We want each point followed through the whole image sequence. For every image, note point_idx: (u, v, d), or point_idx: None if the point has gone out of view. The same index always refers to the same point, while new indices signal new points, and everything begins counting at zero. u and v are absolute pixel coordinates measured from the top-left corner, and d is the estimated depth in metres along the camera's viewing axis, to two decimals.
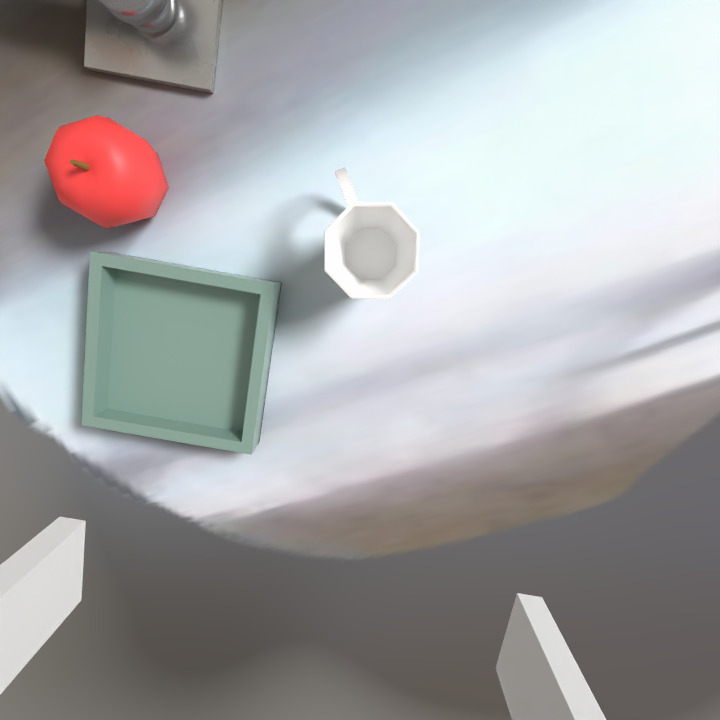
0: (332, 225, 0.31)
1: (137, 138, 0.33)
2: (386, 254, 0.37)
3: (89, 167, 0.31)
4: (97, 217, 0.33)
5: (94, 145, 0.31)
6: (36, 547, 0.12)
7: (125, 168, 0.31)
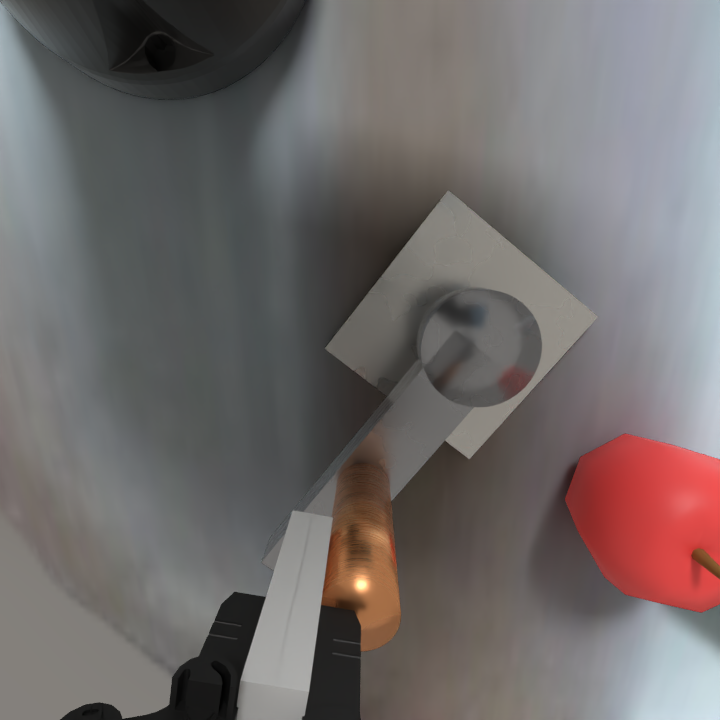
0: None
1: (673, 458, 0.20)
2: None
3: (705, 551, 0.19)
4: None
5: (691, 527, 0.19)
6: (295, 535, 0.14)
7: None
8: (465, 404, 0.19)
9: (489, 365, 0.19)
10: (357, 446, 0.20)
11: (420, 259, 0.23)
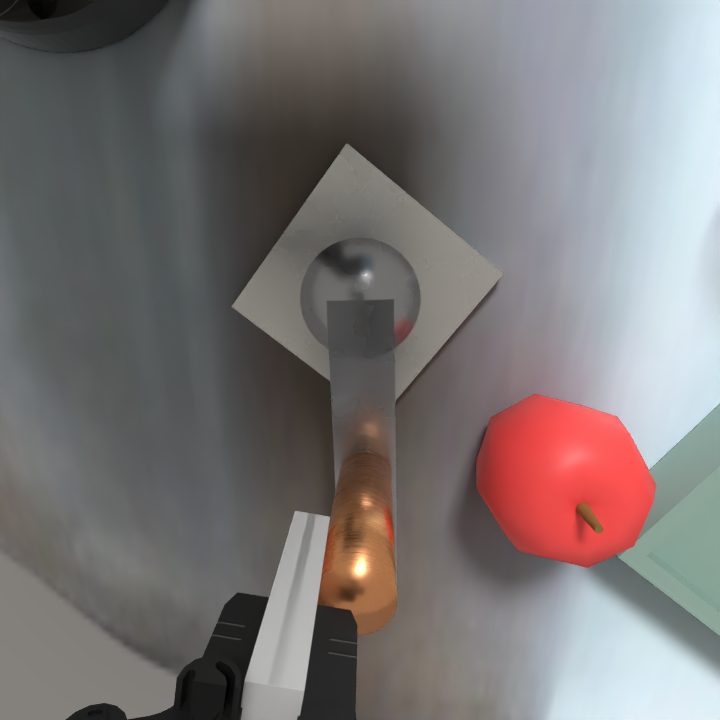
0: None
1: (563, 413, 0.20)
2: None
3: (588, 505, 0.19)
4: None
5: (572, 480, 0.19)
6: (298, 535, 0.14)
7: (624, 457, 0.19)
8: (385, 351, 0.19)
9: (376, 306, 0.19)
10: (333, 447, 0.20)
11: (321, 214, 0.22)
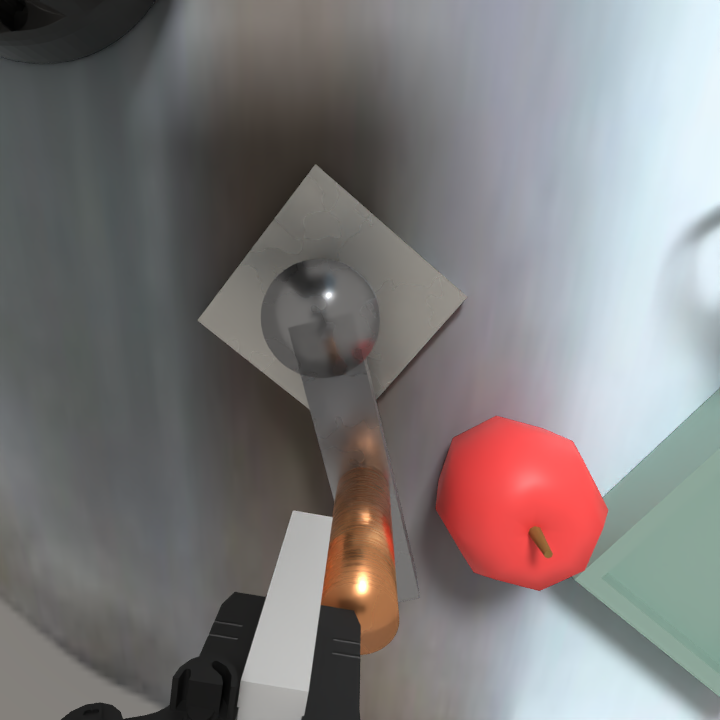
0: None
1: (519, 437, 0.20)
2: None
3: (541, 529, 0.19)
4: None
5: (524, 505, 0.19)
6: (295, 535, 0.14)
7: (576, 483, 0.19)
8: (356, 365, 0.19)
9: (337, 322, 0.19)
10: (326, 469, 0.20)
11: (289, 233, 0.23)
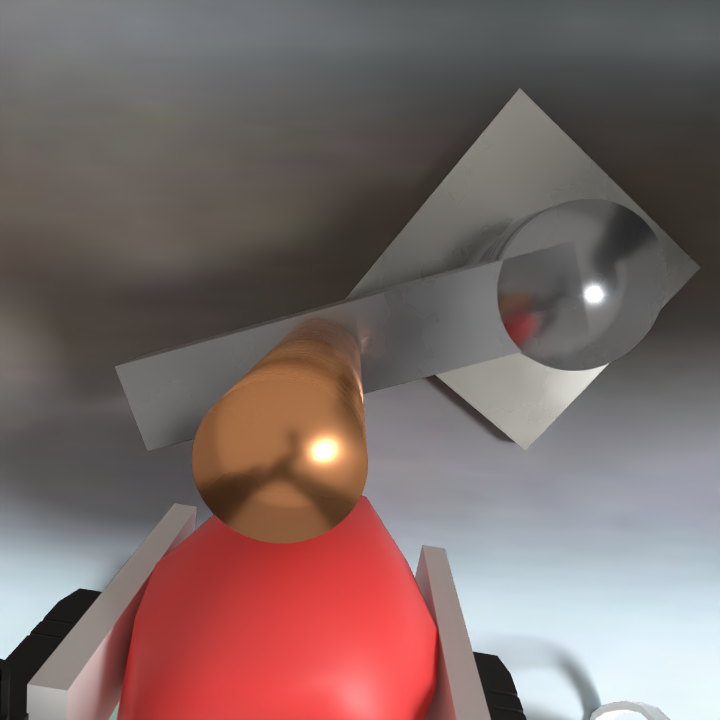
0: None
1: (436, 669, 0.10)
2: None
3: None
4: None
5: None
6: (166, 529, 0.13)
7: None
8: (515, 341, 0.13)
9: (576, 313, 0.13)
10: (351, 301, 0.13)
11: None
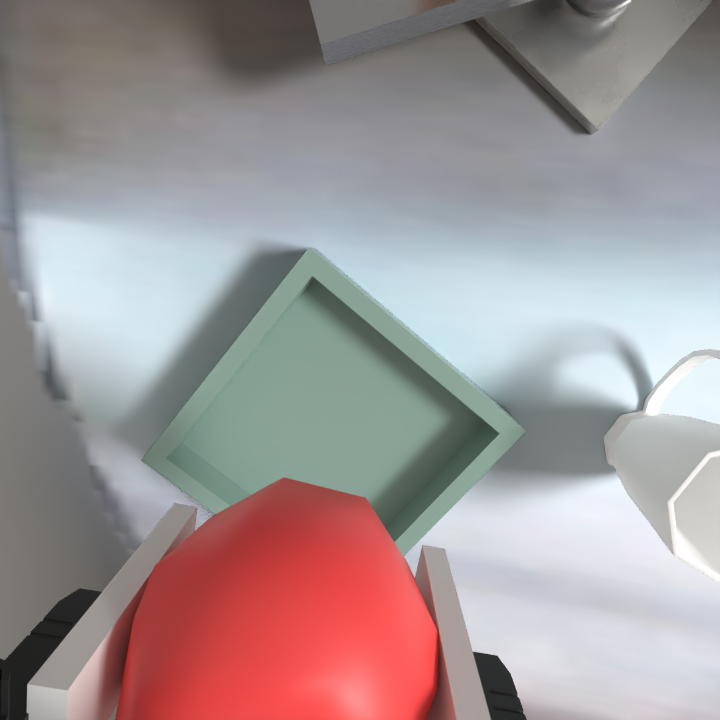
0: None
1: (437, 672, 0.10)
2: None
3: None
4: None
5: None
6: (166, 529, 0.13)
7: None
8: None
9: None
10: None
11: None
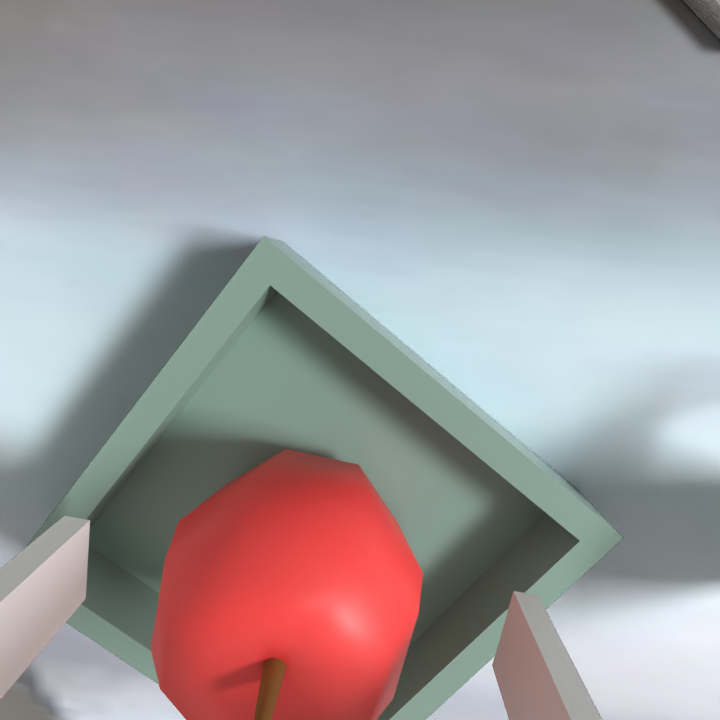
0: None
1: (419, 600, 0.12)
2: None
3: (282, 678, 0.11)
4: None
5: (332, 654, 0.10)
6: (42, 546, 0.12)
7: (373, 717, 0.11)
8: None
9: None
10: None
11: None
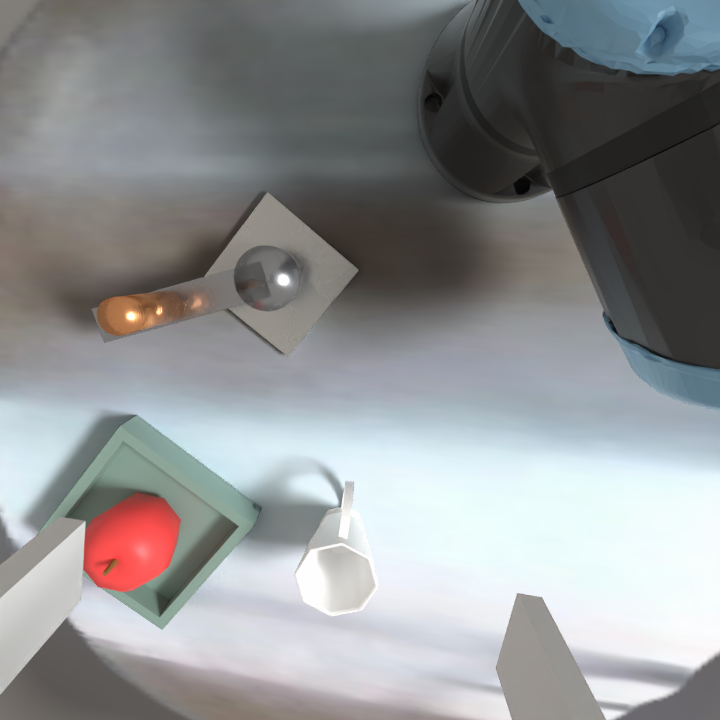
0: (318, 549, 0.36)
1: (166, 544, 0.39)
2: None
3: (117, 564, 0.38)
4: None
5: (129, 556, 0.37)
6: (36, 547, 0.12)
7: (145, 577, 0.38)
8: (243, 299, 0.35)
9: (265, 288, 0.35)
10: None
11: (321, 253, 0.39)
